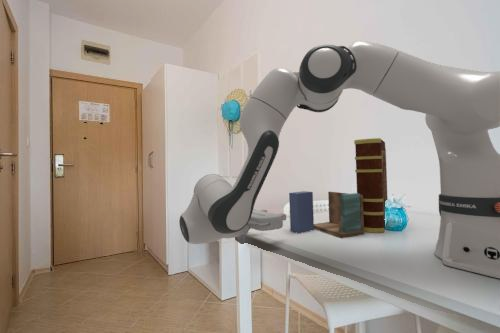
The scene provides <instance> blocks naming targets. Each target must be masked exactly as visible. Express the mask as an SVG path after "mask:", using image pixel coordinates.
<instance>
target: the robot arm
mask: <svg viewBox="0 0 500 333" xmlns="http://www.w3.org/2000/svg"><path fill="white" fill-rule="evenodd" d="M346 89H353V90H360V91H362V92H364V93H365V94H367V95H370V96H372V97H374V98H376V99H379V100H381V101H383V102H385V103H387V104H390V105H392V106H395V107H397V108H399V109H402V110H404V111H405V110H406V111H412V112H416V113H417V112H418V113H422V114H424V115H425V118H424V121H425V124H426V127H427V128H428V129H429V130H430V131H431V135H432V138H433V141H434V146H435V150H436V153H437V158H438V163H439V164H438V165H439V179H440V180H439V182H440V194H438V212H439V216H440V221H439V222H440V223H439V229H438V230H439V231H438V238H437V241H436V242H437V243H436V245H435V249H434V250H433V251H434V252H433V253H434V255H435V256H436V257H437V258H438V259H440V260H441V262H442V264H443V265H445V266H448V267H452V268H456V269H460V270H463V271H467V272H472V273H476V274H480V275H483V276H487V277H492V278H496V279H500V153H499V152H498V151H497V150H496V149H495V147H494V145H493V142H492V141H491V137H490V134H489V130H493V129H497V128H500V70H499V71H498V70H497V71H479V70H471V69H466V68H461V67H460V68H459V67H453V66H447V65H442V64H438V63H434V62H431V61H428V60H425V59H422V58H420V57H418V56H415V55H411V54H409V53H407V52H405V51H401V50H399V49H396V48H393V47H390V46H387V45H385V44H380V43H377V42H376V43H375V42H371V41H364V40H357V41H355V42H353V43H350V45H349V46H348V47H346V46H345V45H334V44H319V45H316V46H314V47H312V48H311V49H309V50H308V51H307V52H306V54H305V55H304V56H303V59H302V60H301V62H300V66H299V69H298V72H297V71H291V70H289V69H287V68H283V67H276V68H274V69H272V70H270V72H269V73H267V74H266V76H265V77H264V78H263V79H262V80H261V82H259V84H258V85H257V87H256V88H255V89H254V90H253V92H252V94H251V95H250V97H249V98H248V100H247V102H246V103H245V105H244V107H243V108H242V111H241V114H240V117H239V128H240V130H241V133H242V135H243V136H244V138H245V141H246V143H247V157H246V158H245V159H246V160H245V162H244V163H243V166H242V167H241V170H240V172H239V174H238V176H237V178H236V180H235V183H234V184H233V185H232V184H231V183H230V182H228V181H227V180H226V179H225V178H224V177H222V176H221V175H219V174H216V173H211V174H206V175H205V176H203V177H202V178H200V179H198V181H197V183H196V184H195V185H194V189H193V194H192V198H191V200H190V202H189V204H188V206H187V208H186V209H185V211H184V212H182V213H181V215H180V217H179V222H178V223H179V229H180V232H181V235H182V237H183V238H184V240H185V241H186V243H188V244H191V245H199V244H200V245H202V244H208V243H214V242H217V241H219V240H221V239H235V238H238V237H244V236H247V234H248V233H249V231H250V230H251V229H253V230H254V231H255V230H256V231H260V232H264V231H265V232H266V231H273V230H280V229H282V228H283V226H284V221H286V220H287V214H285V213H274V212H269V211H268V210H266V209H254V208H255V204H256V200H257V198H258V196H259V194H260V192H261V190H262V187H263V185H264V183H265V181H266V178H267V176H268V174H269V172H270V170H271V168H272V166H273V163H274V161H275V159H276V156H277V153H278V150H279V148H280V141H279V140H280V139H279V138H280V134H281V132H282V129H283V126H284V125H285V123H286V122H287V119H288V118H289V117H290V115H291V113H292V112H293V110H294V109H295V108H296V107H297V108H298V109H301V110H306V111H309V112H313V113H325V112H327V111H329V110H331V109H332V108H334V106H335V105H336V104H337V103H338V101H339V99H340V96H341V95H342V93H343V91H344V90H346Z"/></svg>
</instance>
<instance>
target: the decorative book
mask: <svg viewBox="0 0 500 333" xmlns="http://www.w3.org/2000/svg"><path fill="white" fill-rule="evenodd" d="M353 144H354V145H355V147H354V148H355V157H354V160H355V169H354V171H355V174H356V175H355V176H356V193H358V194H360V195H363V216H364V233H370V234H371V233H373V234H374V233H375V234H379V233H380V234H381V233H384V232H385V230H386V227H385V220H384V219H385V201H386V200H388V177H387V170H388V169H387V150H386V148H387V147H386V142H385V141H384V140H383V139H382V138H381V137H380V138H379V137H378V138H377V137H376V138H374V137H373V138H362V139H361V138H360V139H355V140H353Z"/></svg>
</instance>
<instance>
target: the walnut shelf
mask: <svg viewBox="0 0 500 333" xmlns="http://www.w3.org/2000/svg"><path fill="white" fill-rule="evenodd" d="M327 194H328V195H327V196H328V218H329V219H328V220H329V221H327V222H319V223H314V230H316V229H317V231H319V230H320V232H322V233H326V234H329V235H331V236H334V237H337V238H341V239H343V238H349V237H355V236H359V235H360V236H361V235H364V234H365V232H364V216H363V195H360V194H358V193H357V192H353V193H345V192H337V191H328V193H327Z"/></svg>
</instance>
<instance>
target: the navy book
mask: <svg viewBox="0 0 500 333" xmlns="http://www.w3.org/2000/svg"><path fill="white" fill-rule="evenodd" d="M288 194H289V198H288V200H289V222H290V223H289V225H290V226H289V228H290V230H291V231H290V232H292V231H294V232H293V233H295V232H297V233H296V234H302V233H301V232H303V233H307V232H306V231H308V232H311V231H310V230H312V231H314V230H315V229H314V224H315V222H314V219H315V218H314V196H313V195H314V193H313V191H306V190H302V191H294V192H289V193H288Z"/></svg>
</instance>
